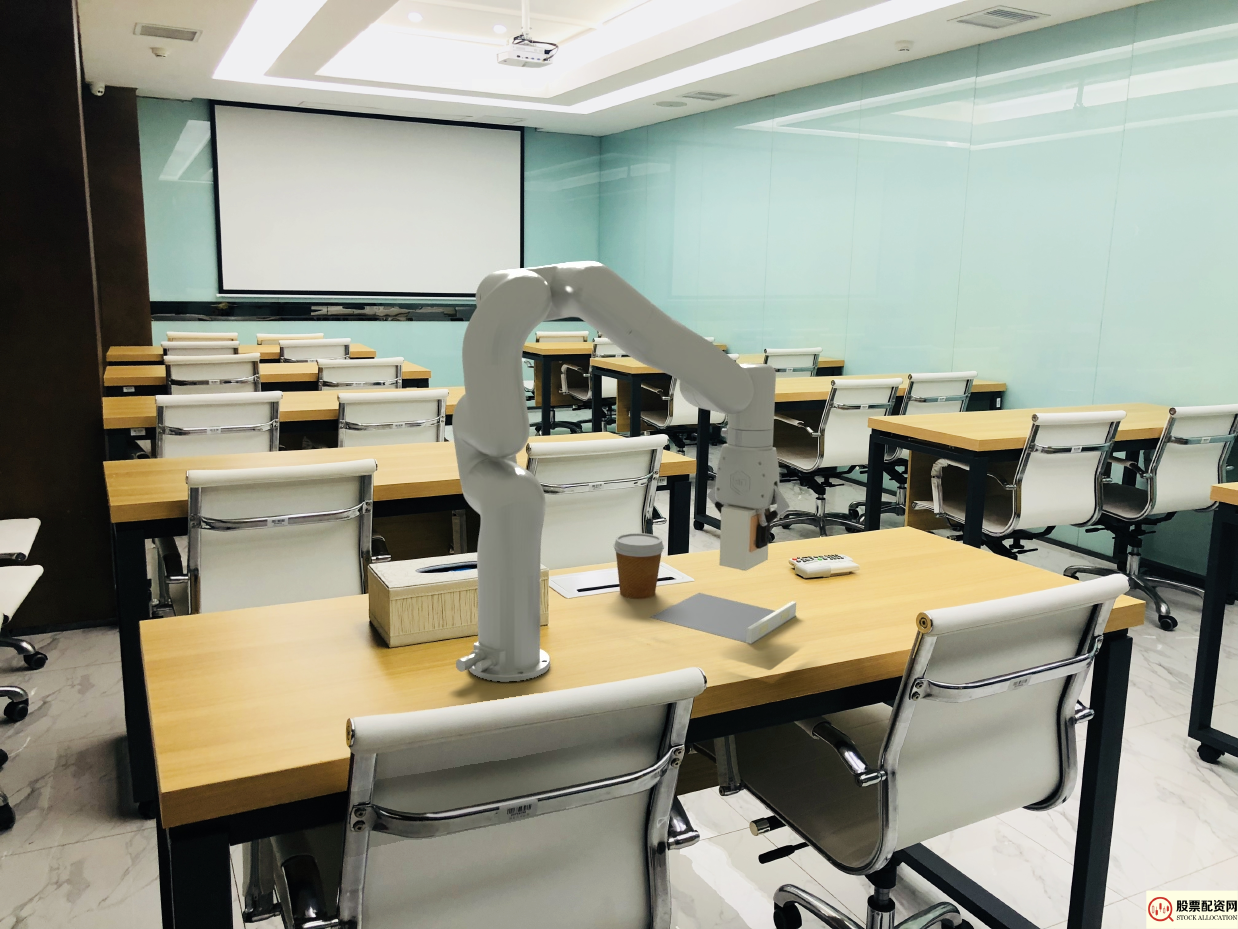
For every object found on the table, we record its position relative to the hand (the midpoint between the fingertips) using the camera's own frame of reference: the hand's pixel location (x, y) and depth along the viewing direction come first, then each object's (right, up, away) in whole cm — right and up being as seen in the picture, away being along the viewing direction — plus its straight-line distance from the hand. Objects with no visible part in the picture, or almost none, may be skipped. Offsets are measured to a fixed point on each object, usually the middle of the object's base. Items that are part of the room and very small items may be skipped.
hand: (745, 542), depth 157 cm
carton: (0, -3, +1) cm, 4 cm away
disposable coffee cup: (-18, -13, +18) cm, 28 cm away
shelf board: (-3, -15, +6) cm, 16 cm away
